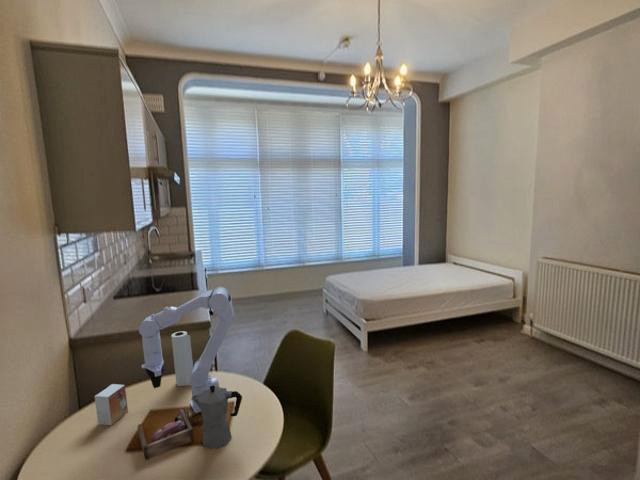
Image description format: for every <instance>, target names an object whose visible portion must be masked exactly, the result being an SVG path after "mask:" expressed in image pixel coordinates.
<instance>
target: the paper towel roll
mask: <svg viewBox="0 0 640 480" xmlns="http://www.w3.org/2000/svg"><path fill="white" fill-rule="evenodd" d="M171 345H172V353H173V354H172V355H173V356H172V357H173V364H174V373H175V374H174V375H175V381H176V382H175V383H176V385H177V386H178V387H185V386H186V387H187V386H191V383H190V380H189V378H190V375H191V373H192V370H193V366H194V364H193V363H194V361H193V352H192V341H191V335H190V334H189V335H188V331H182V330H181V331H175V332H173V333H172V334H171Z"/></svg>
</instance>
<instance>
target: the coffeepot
mask: <svg viewBox="0 0 640 480" xmlns="http://www.w3.org/2000/svg"><path fill="white" fill-rule="evenodd" d="M232 398H236V399H235V406H234V408H233V410H234V411H233V412H232V413H230V417H237V416H238V414H239V410H240V406H241V403H242V400H243V395H242V394H241V393H240V392H238V390H237V391H233V390H230V391H228V389H227V387H220V386H219V387H215V386H214V385H212V386H210V389H207V390H204V391H203V392H202V393H200V394H197V395H195V396H193V397H192V396H191V401H193V400H194V401H195V403H196V404H197V405H198V406H199V407H200V409H201V412H200V413H201V416H202V420H203V423H202V435H201V442H202V446H203V448H206V449H208V450H216V449H220V448H222V447H224V446H227V444H229V442H230V441H231V439H232V433H231V430H230V425H229V421H228V418H227V414H228V404H229V403H228V402H229V400H230V399H232Z"/></svg>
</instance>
